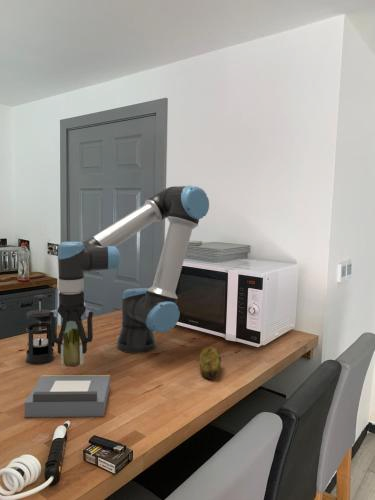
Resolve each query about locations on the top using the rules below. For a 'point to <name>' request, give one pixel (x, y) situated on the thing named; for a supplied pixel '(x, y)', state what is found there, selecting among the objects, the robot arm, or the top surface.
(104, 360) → the top surface
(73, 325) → the disposable coffee cup
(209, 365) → the olive green oval lump
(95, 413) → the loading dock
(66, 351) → the fennel bulb
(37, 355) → the french press
